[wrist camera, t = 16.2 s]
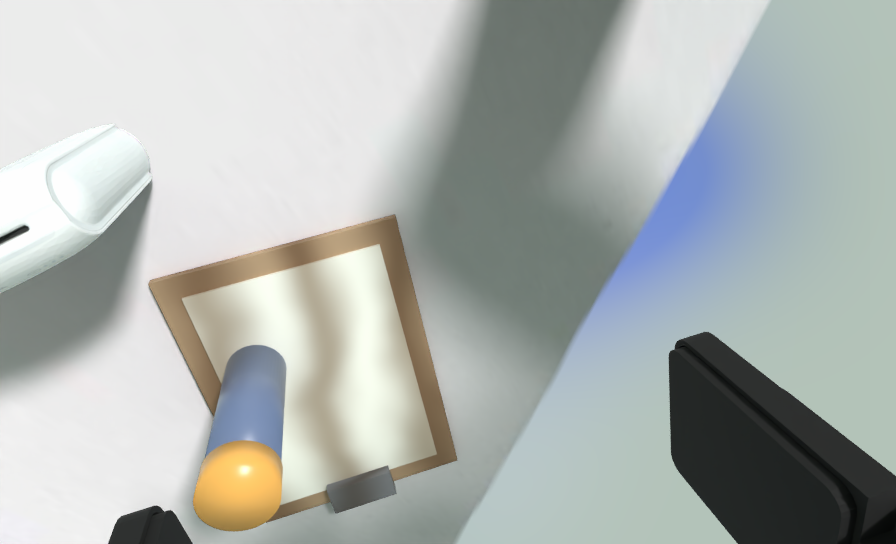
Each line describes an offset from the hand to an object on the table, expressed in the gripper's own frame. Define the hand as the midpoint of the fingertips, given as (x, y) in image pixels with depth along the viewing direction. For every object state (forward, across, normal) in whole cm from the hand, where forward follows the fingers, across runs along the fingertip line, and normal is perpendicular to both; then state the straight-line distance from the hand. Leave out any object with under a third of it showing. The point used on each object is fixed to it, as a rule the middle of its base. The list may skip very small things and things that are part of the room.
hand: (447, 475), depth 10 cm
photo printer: (+28, +16, -2) cm, 33 cm away
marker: (+28, +10, +13) cm, 32 cm away
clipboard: (+28, +6, +16) cm, 33 cm away
